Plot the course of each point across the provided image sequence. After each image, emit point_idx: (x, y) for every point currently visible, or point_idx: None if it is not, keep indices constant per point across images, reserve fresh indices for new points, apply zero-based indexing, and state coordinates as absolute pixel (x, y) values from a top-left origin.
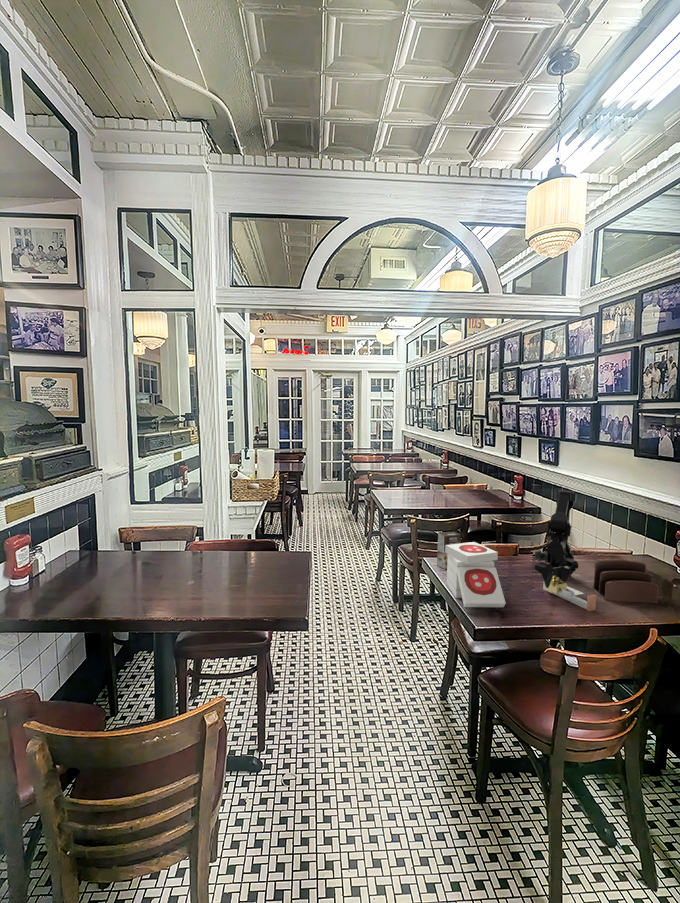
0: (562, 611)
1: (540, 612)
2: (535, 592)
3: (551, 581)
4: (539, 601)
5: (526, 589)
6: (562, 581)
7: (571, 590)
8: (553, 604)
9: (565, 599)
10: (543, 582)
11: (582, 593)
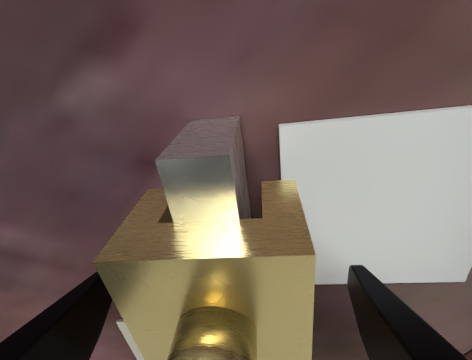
0: (118, 353)
1: (5, 333)
2: (83, 149)
3: (150, 324)
4: (47, 264)
5: (17, 62)
6: (297, 355)
7: (432, 220)
8: (115, 307)
9: None
10: (164, 150)
11: (448, 279)
